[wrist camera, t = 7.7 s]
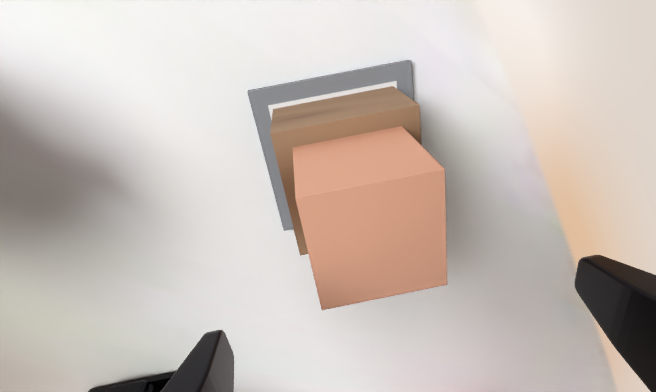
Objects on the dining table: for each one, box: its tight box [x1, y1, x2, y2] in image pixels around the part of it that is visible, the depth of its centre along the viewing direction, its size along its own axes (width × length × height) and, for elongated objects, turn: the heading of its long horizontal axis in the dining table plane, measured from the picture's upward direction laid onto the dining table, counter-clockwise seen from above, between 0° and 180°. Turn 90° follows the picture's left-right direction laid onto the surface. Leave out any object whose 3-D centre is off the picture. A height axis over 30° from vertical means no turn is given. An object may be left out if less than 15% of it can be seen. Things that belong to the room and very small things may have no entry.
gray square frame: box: [248, 60, 413, 231], centre depth 20 cm, size 8×8×1 cm
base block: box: [270, 86, 421, 255], centre depth 18 cm, size 6×6×4 cm
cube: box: [292, 126, 447, 310], centre depth 14 cm, size 4×4×4 cm
